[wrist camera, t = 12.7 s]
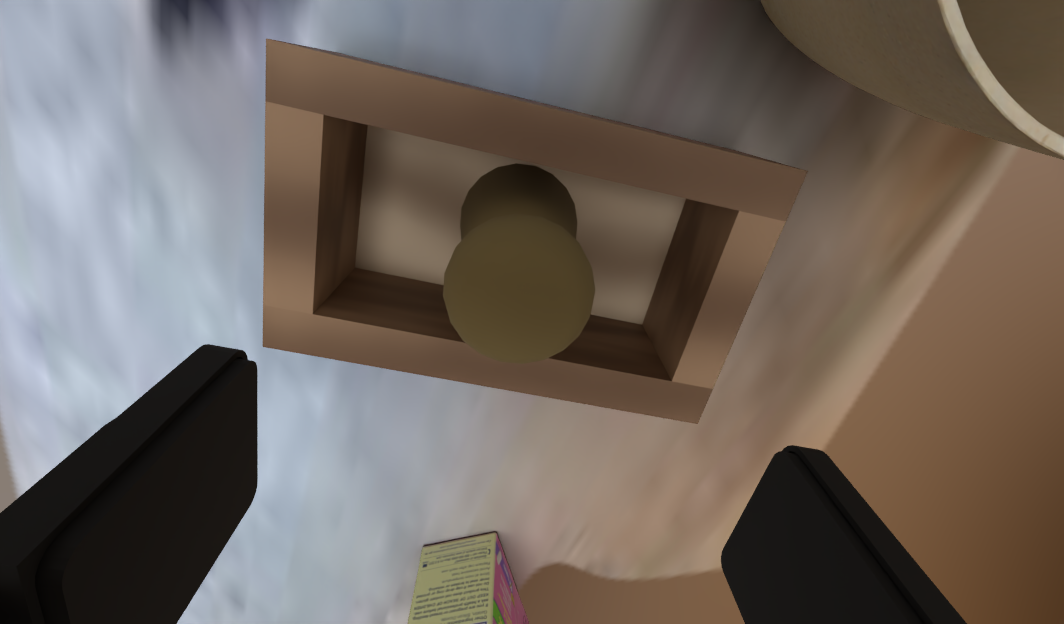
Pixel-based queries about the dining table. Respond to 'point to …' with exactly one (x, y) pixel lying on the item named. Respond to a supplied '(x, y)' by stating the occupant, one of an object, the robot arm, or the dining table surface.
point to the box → (466, 584)
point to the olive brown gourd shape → (518, 267)
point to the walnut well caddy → (434, 231)
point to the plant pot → (945, 59)
